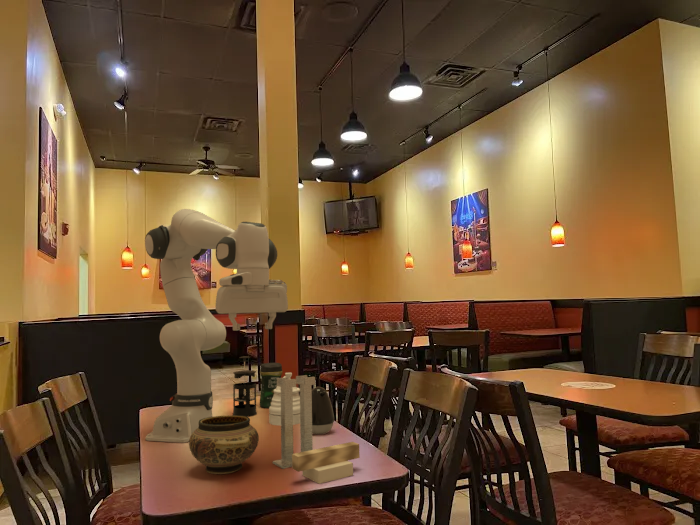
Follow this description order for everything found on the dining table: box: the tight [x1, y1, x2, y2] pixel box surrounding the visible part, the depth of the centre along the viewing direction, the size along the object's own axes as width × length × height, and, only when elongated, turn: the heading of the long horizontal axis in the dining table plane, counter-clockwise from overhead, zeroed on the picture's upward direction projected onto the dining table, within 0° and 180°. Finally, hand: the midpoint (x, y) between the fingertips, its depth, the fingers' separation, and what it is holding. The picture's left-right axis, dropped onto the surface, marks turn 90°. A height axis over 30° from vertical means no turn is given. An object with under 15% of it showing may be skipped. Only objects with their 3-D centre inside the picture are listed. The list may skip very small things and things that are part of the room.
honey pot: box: [268, 372, 300, 427], centre depth 193 cm, size 13×13×18 cm
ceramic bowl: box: [188, 414, 260, 475], centre depth 137 cm, size 24×18×15 cm
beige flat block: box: [301, 460, 354, 485], centre depth 130 cm, size 10×8×3 cm
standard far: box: [295, 374, 316, 452], centre depth 144 cm, size 6×6×23 cm
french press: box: [232, 355, 257, 418], centre depth 208 cm, size 12×9×23 cm
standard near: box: [272, 377, 297, 469], centre depth 141 cm, size 6×6×23 cm
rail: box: [291, 441, 360, 472], centre depth 130 cm, size 18×3×4 cm, turn 124°
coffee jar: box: [259, 362, 283, 409], centre depth 223 cm, size 10×8×19 cm
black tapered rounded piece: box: [311, 386, 335, 435], centre depth 174 cm, size 10×10×15 cm
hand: (252, 329), depth 142 cm, fingers open, 8 cm apart
